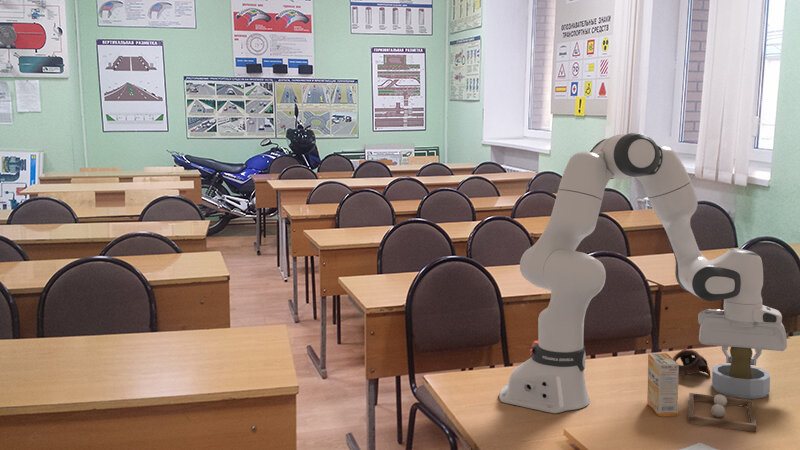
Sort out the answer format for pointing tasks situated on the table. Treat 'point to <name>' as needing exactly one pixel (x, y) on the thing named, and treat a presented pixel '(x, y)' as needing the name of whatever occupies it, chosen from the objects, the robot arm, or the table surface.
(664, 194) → the robot arm
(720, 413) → the pebble
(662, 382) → the supplement box
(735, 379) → the bowl
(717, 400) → the pebble
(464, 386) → the table surface
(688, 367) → the pottery mug
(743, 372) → the cork
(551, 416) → the table surface
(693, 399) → the tray
